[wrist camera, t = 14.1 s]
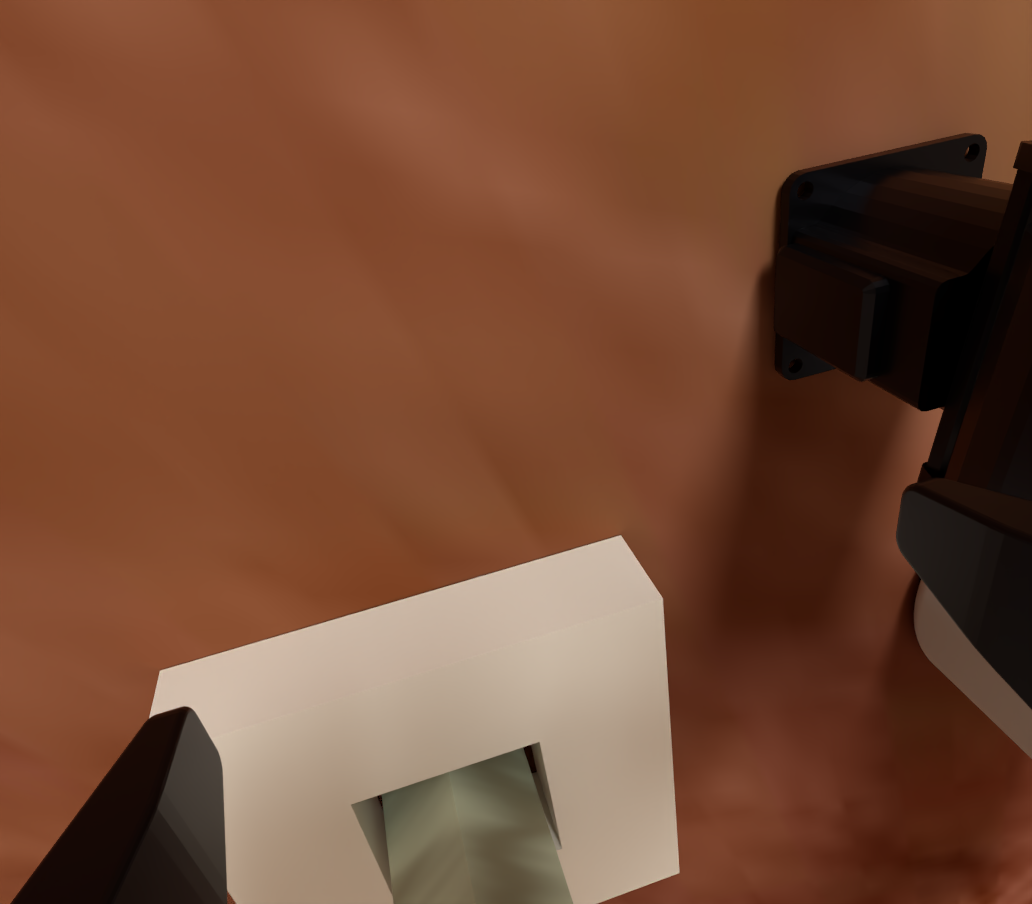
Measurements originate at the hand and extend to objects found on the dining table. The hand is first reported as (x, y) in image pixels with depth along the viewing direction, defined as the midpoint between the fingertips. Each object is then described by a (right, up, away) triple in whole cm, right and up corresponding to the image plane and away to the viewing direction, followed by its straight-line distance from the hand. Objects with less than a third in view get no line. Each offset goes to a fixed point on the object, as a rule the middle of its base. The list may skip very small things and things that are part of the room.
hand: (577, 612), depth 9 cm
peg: (-3, -10, +20) cm, 22 cm away
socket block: (-3, -10, +20) cm, 22 cm away
